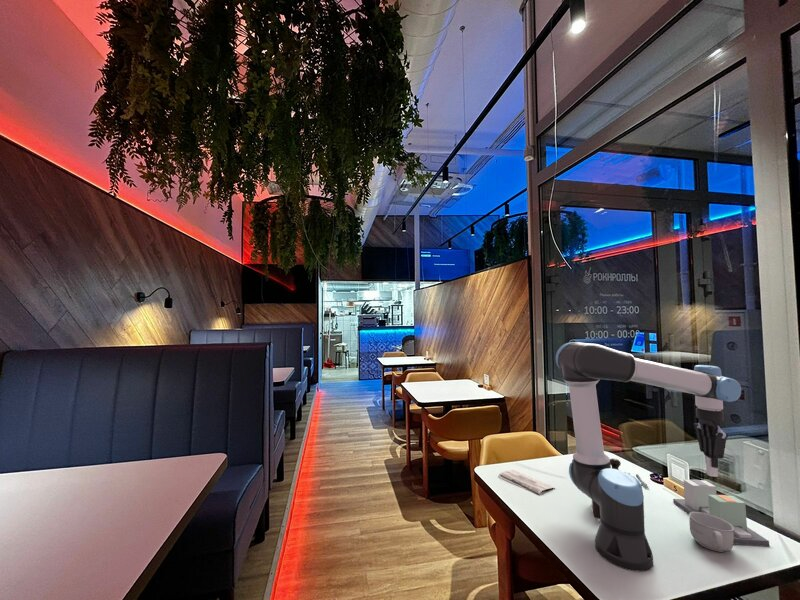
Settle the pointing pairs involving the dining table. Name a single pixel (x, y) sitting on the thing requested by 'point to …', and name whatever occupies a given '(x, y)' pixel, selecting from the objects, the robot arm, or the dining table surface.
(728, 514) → the block
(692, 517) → the teacup
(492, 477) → the dining table surface
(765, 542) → the stepped base plate
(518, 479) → the newspaper
